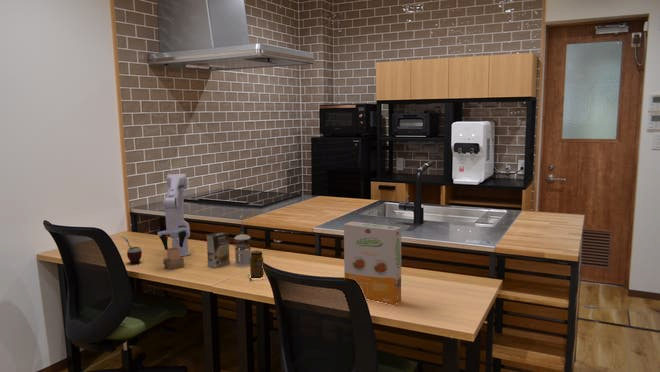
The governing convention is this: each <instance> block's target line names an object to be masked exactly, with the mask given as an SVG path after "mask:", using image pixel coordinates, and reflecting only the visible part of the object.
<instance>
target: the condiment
mask: <svg viewBox="0 0 660 372" xmlns="http://www.w3.org/2000/svg"><path fill="white" fill-rule="evenodd" d="M250 254H251V256H250V257H251V258H250V266H249V267H250V274H248V278H249V276H250V275H251V278H261V277H263V275H265V271H263V268H264V267H263V268H262V263H263V264H264V257H263V251H261V250H253V251H252V250H251V253H250ZM251 278H249V281H252V279H251Z"/></svg>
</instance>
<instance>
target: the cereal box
mask: <svg viewBox="0 0 660 372" xmlns="http://www.w3.org/2000/svg"><path fill="white" fill-rule="evenodd" d="M343 258H344V259H343V260H344V263H343V264H344V266H343V267H344V269H343V270H344V273H343V274H344V279H345V278H351V279H354V280H356V281H357V282H358V283H359V285H360V286H361V288H362V290H363V292H364V295H365V297H366V299H369V300H374V301H379V302H383V303H387V304H391V305H395V304H396V303H398V302H399V301H400V302H402V226H393V225H386V224H385V225H384V224H377V223H376V224H375V223H368V222H360V221H349V222H346V223H344V224H343ZM400 302H399V303H400ZM399 303H398V304H399ZM387 304H386V305H387ZM391 305H390V306H391ZM396 305H397V304H396ZM396 305H395V306H396Z"/></svg>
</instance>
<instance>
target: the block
mask: <svg viewBox="0 0 660 372" xmlns="http://www.w3.org/2000/svg"><path fill="white" fill-rule="evenodd" d="M166 251H167V254H166V255H167V258H168V259H169V260H171V261H172V260H177V259H180V249H179V248H176V247H174V248H172V247H170V248H169V247H168V250H166Z"/></svg>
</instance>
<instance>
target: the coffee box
mask: <svg viewBox="0 0 660 372" xmlns="http://www.w3.org/2000/svg"><path fill="white" fill-rule="evenodd" d="M229 235H230V234H229V233H228V232H226V231H225V232H224V231H219V232H214V233H210V234H206V246H207V247H206V248H207V249H206V251H207V267H209V268H210V267H211V268H213V269H218V268H221V267H224V266H228V265H230V264H231V263H230V261H231V260H230V238H229V237H230V236H229Z"/></svg>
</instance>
